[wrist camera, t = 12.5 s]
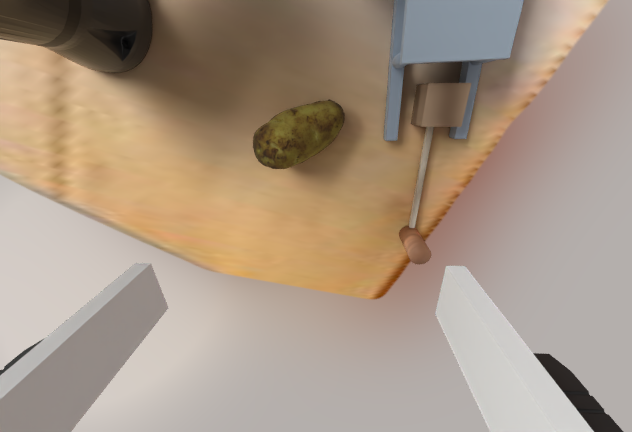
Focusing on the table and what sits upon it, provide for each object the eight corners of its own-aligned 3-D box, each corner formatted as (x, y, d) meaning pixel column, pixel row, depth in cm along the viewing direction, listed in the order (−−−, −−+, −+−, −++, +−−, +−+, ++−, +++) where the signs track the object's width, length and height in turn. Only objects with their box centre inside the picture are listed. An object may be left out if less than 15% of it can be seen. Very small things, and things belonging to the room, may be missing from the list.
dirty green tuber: (346, 155, 39) (349, 167, 32) (268, 163, 41) (253, 177, 34) (342, 97, 36) (344, 97, 29) (257, 109, 37) (238, 111, 30)
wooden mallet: (392, 240, 45) (402, 263, 39) (416, 85, 35) (434, 81, 28) (421, 241, 45) (434, 265, 38) (453, 85, 34) (480, 81, 28)
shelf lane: (383, 138, 38) (393, 147, 31) (400, -79, 28) (420, -136, 21) (460, 136, 37) (487, 144, 30) (505, -89, 27) (561, -152, 20)
